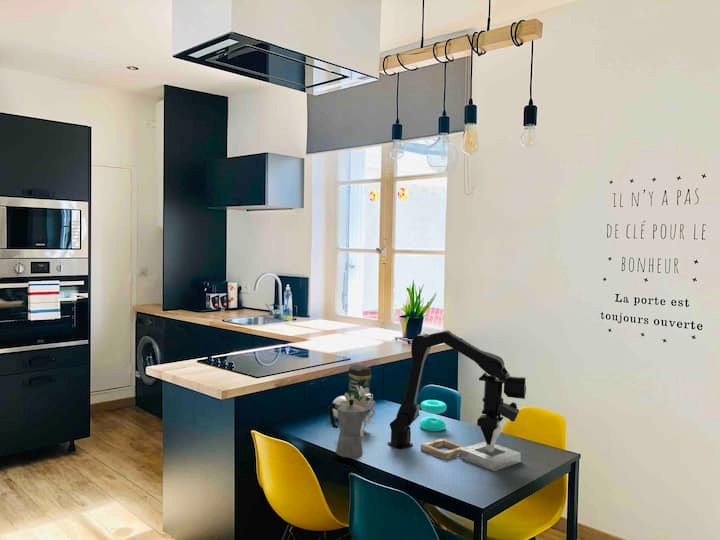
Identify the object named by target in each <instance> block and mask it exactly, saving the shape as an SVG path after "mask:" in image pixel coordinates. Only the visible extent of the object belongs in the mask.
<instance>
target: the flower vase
mask: <svg viewBox="0 0 720 540" xmlns="http://www.w3.org/2000/svg"><path fill="white" fill-rule="evenodd" d="M355 386H356V385H355ZM356 388H357V390H358V392H359V395H360V396H359V398H358V400H357V399H355V398H354V395H351V397H349V395H348V392H345V393H344V395H340V396H337V397H336V398H335V399H334V400H332V403H335V404H341V405H349V400H350V399H352V400H354V401H353V405H358V406H361V407H364V408H365V409H364V410H367V411H369V410H370V412H371V413H370V414H367V416H366V417H365V418H364V420H363V428H362V427H361V430H360V434H361V437H365V434H367V435H370V434H371V433H370V432H369V431H367V430H366V425H369V424H370V423H371V420H372V419H371V418H373V417H374V416H375V415H376V414H377V413H376V411H375V408H374V407H375V406H376V401H375V400H374V394H373V393H371V392H370V393H368V392H364V389H363V387H362V386H360V390H359V388H358V386H356ZM363 392H364V393H363ZM367 395H370V396H367ZM360 397H362V398H361V400H360V401H359V399H360ZM366 397H368V398H370V401H369V402H368V404H367V405H365V404H364V403H365V401H366ZM333 414H334V418H337V419H338V410H336V409H333Z"/></svg>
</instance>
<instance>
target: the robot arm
mask: <svg viewBox="0 0 720 540" xmlns="http://www.w3.org/2000/svg"><path fill="white" fill-rule="evenodd" d="M441 344H445V345H447V346H448V347H450V348H452V349H453V350H455V351H457V352H458V353H460V354H462V355H464V356H465V357H467V358H468V359H470V360H472V361H473V362H474V363H476V364H477V366H478V367H480V369H482V370H483V373H482V375H480V376H479V378H478V380H479V381H483V382H484V386H483V387H484V388H483V389H484V391H483V397H482V402H483V408H482V410H481V414H482V415H480V416H479V417H478V418H477V422H476V426H477V427H480V430H481V433H482V432H483V433H482V435H483V437H484V441H485V440H486V443H487V444H488V445H490V444H491V441H492V436H493V432H494V430H495V429H497V428H498V426H499V425H498V424H500V422H502V421H503V419H504V418H506V419H508V420H509V421H511V422H515V421H516V419H517V417H518V414H519V413H520V409H519V408H518V404H517V403H516V402H514V401H512V402H510V403H506V402H504V398H503V394H505V396H506V397H507V398H514V399H521V400H525V399H526V394H527V393H526V392H527V386H526V385H527V383H526V377H524V376H521V377H518V376H511V374H510V373H509V372H508V370H507V369H506V367H505V361H504V359H503V358H502V357H501V356H499V355H496V354H494V353H491V352H487V351H484V350H481V349H479V347H476V346H474V345H472V344H471V343H469V342H468V341H466V340H464V339H463V338H461V337H460V336H457V335H456V334H455V333H452V332H451V331H450V330H448V329H446V330H442V331H438V332H434V333H430V334H428V333H424V332H422V333H420V334H417V335H415V336H414V337H413V338H412V340H411V347H410V348H411V349H410V351H411V365H410V369H409V373H408V374H409V375H408V379H407V382H406V383H407V384H406V389H405V394H404V398H403V400H402V402H401V404H400V406H399V408H398V411H397V413H396V418H395V419H393V420H392V421H391V422H390V423H389V427H390V432H391V433H390V441H388V442H387V444H388V446H389V445H390V446H391V447H394V448H396V449H399V450H402V449H405V448H410V447H412V446H413V445H414V444H413V443H411V438H412V437H411V433H412V431H411V425H412V424H413V423H414V422H415V421H416V420H417V419H418V418H419V416H420V410H421V404H418V401H417V400H418V396H419V389H420V384H421V380H422V375H423V370H424V366H425V365H424V364H425V360H426V359H427V357H428V355H429V353H430V351H431V348H432V347H434V346H435V347H436V346H439V345H441Z"/></svg>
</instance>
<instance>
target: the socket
mask: <svg viewBox="0 0 720 540" xmlns="http://www.w3.org/2000/svg"><path fill="white" fill-rule="evenodd" d="M521 456H522V454H521V452H519V451H516V450H513V449H510V448H509V447H505V446H501V445H499V444H497V443H495V444H494V451H493V452H488V451H487V450H486V441H485V440H484V441H482V442H478V443H475V444H472V445H471V444H470V445H468V446H465V448H461V449H460V455H459V459H462V460H464V461H467V462H469V463H472V464H475V465H478V466H480V467H482V468H485V469H487V470H490V471H493V472H497V471H499V470H501V469H504V468H508V467H510V466H513V465H516V464H518V463H521V458H522V457H521Z"/></svg>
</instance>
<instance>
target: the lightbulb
mask: <svg viewBox="0 0 720 540" xmlns="http://www.w3.org/2000/svg"><path fill="white" fill-rule="evenodd" d="M498 425H499V426H498V428H497V429H495V430H494V432H493V436H492V441H491V444H490V445H488V444H487V443H486V450H487V451H488V452H493V451H494V444H496V441H497V439H498V438H499V436H500V435H501V432H502V426H501V424H500V423H499V424H498ZM481 433H482V434H483V432H482V431H481ZM485 441H486V440H485V439H484V442H485Z"/></svg>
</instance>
